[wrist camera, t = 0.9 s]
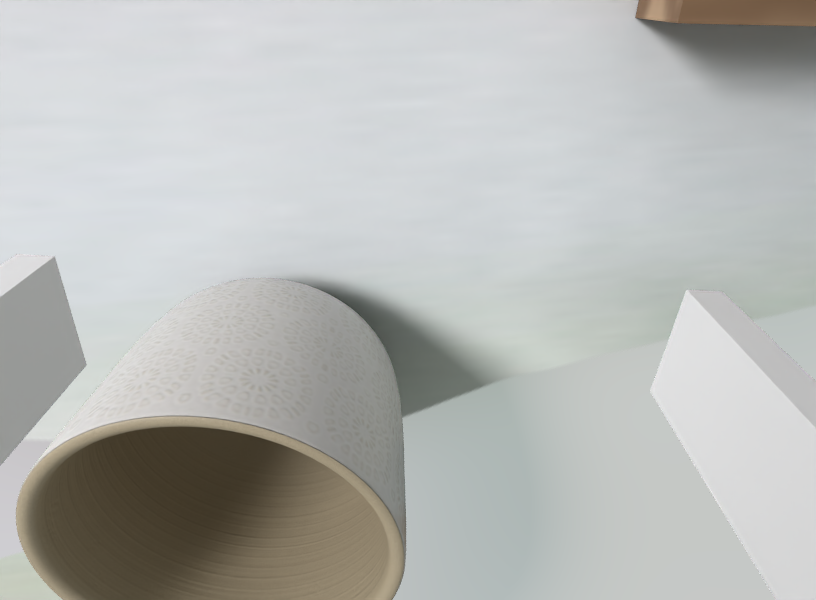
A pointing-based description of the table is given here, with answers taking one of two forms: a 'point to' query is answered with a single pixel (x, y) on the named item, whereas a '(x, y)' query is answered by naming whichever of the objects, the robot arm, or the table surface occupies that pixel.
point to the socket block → (730, 12)
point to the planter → (229, 460)
